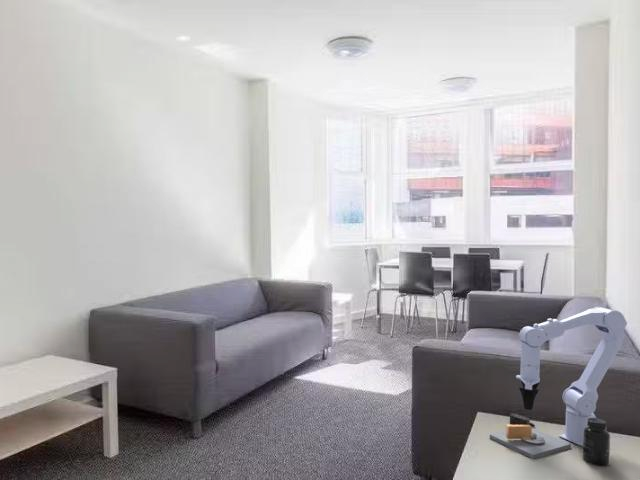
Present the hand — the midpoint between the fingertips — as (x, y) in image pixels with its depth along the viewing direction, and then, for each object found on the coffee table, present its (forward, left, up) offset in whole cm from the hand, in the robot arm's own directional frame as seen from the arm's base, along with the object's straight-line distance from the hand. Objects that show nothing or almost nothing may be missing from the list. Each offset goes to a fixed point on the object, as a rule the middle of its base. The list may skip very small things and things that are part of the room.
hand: (528, 405), depth 155 cm
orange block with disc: (+5, +3, -9) cm, 11 cm away
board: (+3, +3, -10) cm, 11 cm away
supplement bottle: (-4, +20, -11) cm, 23 cm away
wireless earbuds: (-7, -8, -11) cm, 15 cm away
